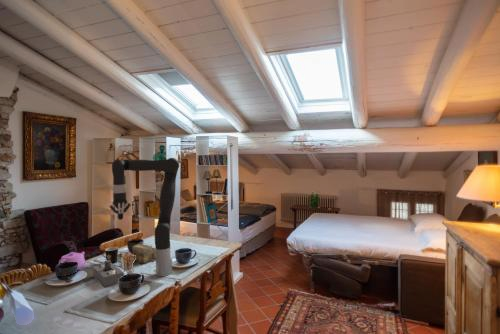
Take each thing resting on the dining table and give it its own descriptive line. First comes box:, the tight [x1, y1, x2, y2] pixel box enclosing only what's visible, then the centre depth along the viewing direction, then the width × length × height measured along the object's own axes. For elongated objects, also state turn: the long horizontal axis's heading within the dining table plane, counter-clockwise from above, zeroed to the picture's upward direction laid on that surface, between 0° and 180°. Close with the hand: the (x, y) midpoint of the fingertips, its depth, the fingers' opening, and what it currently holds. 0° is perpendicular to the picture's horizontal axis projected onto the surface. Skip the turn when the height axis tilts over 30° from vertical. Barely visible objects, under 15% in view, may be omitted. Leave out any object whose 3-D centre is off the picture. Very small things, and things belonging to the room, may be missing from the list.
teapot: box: [58, 251, 86, 271], centre depth 202 cm, size 20×12×13 cm, turn 165°
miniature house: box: [131, 243, 156, 265], centre depth 221 cm, size 15×14×11 cm
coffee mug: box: [100, 246, 119, 265], centre depth 218 cm, size 12×9×10 cm
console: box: [92, 263, 124, 288], centre depth 190 cm, size 11×22×6 cm, turn 43°
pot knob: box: [103, 260, 111, 272], centre depth 189 cm, size 4×4×6 cm
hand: (120, 219), depth 190 cm, fingers closed
